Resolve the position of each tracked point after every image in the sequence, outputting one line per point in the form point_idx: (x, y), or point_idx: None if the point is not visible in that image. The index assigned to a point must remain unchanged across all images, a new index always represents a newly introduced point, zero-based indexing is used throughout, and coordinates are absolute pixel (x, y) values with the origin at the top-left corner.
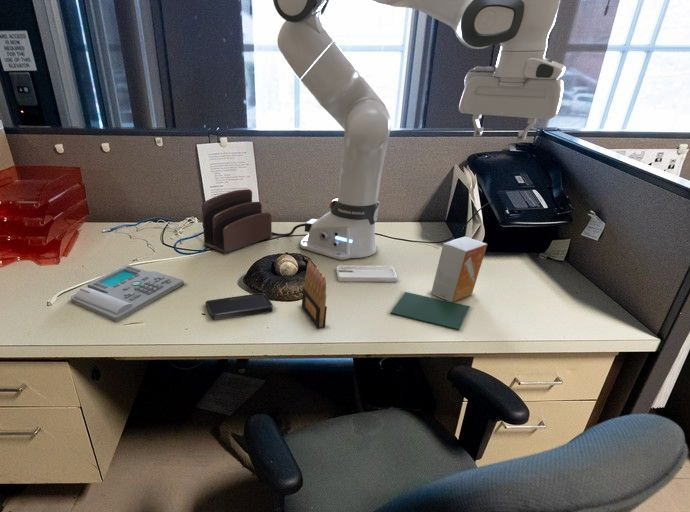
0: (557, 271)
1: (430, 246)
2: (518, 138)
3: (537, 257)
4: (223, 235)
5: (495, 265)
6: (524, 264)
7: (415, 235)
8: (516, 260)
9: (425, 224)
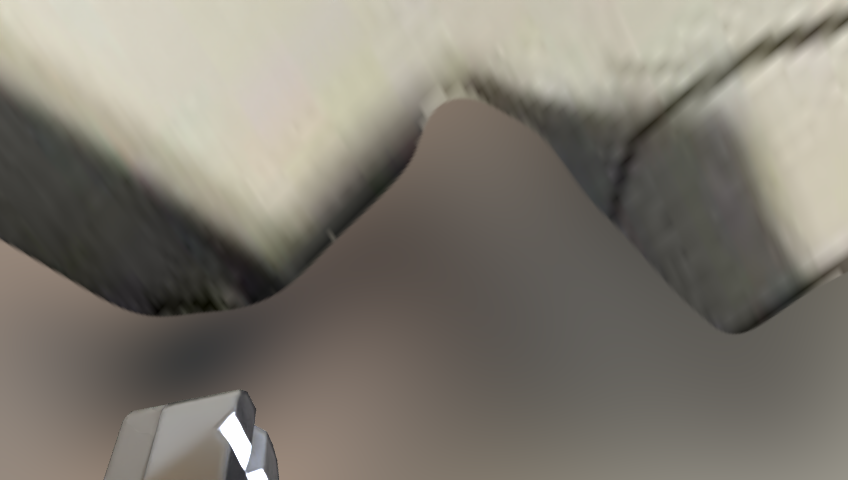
0: (100, 215)
1: (651, 62)
2: (209, 401)
3: (241, 286)
4: None
5: (307, 81)
6: (230, 185)
7: (766, 134)
8: (278, 200)
9: (771, 278)
